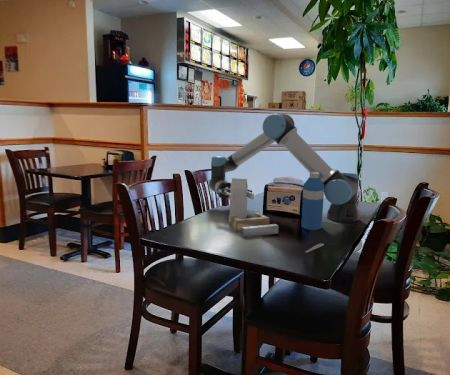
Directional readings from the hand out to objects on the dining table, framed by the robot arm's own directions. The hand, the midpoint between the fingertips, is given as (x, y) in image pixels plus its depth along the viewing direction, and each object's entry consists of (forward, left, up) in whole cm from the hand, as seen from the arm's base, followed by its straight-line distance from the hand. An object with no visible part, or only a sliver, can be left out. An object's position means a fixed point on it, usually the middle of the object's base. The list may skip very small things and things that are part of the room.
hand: (242, 197), depth 172 cm
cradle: (-5, +3, -12) cm, 14 cm away
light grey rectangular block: (+4, -2, -11) cm, 12 cm away
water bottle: (-27, -16, -12) cm, 34 cm away
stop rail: (-16, +9, -12) cm, 22 cm away
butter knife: (-40, +16, -13) cm, 45 cm away
